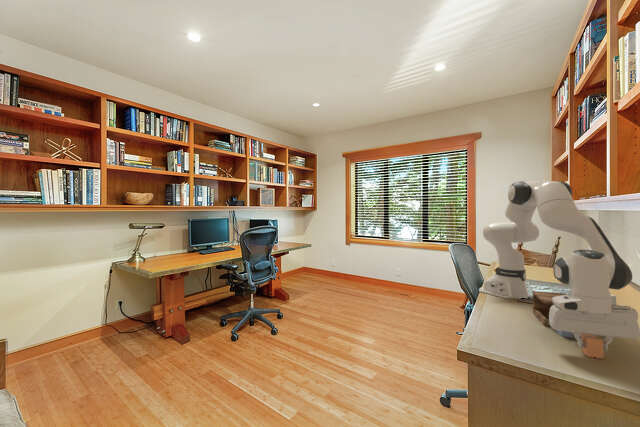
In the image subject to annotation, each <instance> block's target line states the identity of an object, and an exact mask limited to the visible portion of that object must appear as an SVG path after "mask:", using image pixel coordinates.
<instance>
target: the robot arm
mask: <svg viewBox="0 0 640 427" xmlns="http://www.w3.org/2000/svg"><path fill="white" fill-rule="evenodd" d="M572 195H573V189H572V186H570V184H569V183H567V182H564V181H559V180H558V181H557V180H556V181H553V180H534V181H533V180H532V181H531V180H530V181H529V180H528V181H520V180H519V181H516V182H513V183H512V184H511V185H510V186H509V188H508V192H507V198H508V200H509V201H508V203H507V205H506V208H505V211H504V214H505V217H506V218H507V220H509V222H507V221H505V222H503V221H502V222H492V223H487V224H486V225H485V226H484V228H483V230H482V234H483V238H484V240H486V241H487V242H488V243H490V244H491V245H492V246H493V247H494V248H495V250H496V253H497V256H498V266H497V267H496V268H495V269H494V270H493V272H495V274H493V275H491V276H490V277H488V278H485V280H484V282H483V286H481V287H479V289H478V291H479V292H480V293H483V294H486V295H487V294H488V295H490V296H494V297H499V298H501V299H502V298H503V299H507V300H509V299H518V300H520V299H521V298H525V299H529V298H530V294H529V292H528V287H527V282H526V281H527V280H526V279H527V273H526V272H527V271H526V269H525V256H524V254H523V253H522V252H521V251H520V250H518V249H516V248H513V245H512V244H513V243H516V244H517V243H518V244H519V243H522V244H523V243H530V242H534V241H536V240H537V239H538V238H539V235H540V229H539V227H538V226H537V224H536V223H533V221H532V218H533V216H534V213H535V211H536V209H537V212H538V216H539V219H540V220H541V222H542V223H543V224H544V225H545V226H547V227H549V228H551V229H553V230H556V231H559V232H560V231H561V232H566V233H569V234H573V235H575V236H578V237H580V238H581V239H584V240H585V241H586V242H587V244H588V246H589V248H590V249H577V250H573V251H571V254H570V255H569V256H562V257H559V258H558V259H556V260H555V262H554V263H553V267H552V268H553V276H554V278H555V279H556V281H558V282H560V283H562V284H564V285H567V286H571V288H570V293H566V295H561V296H556V297H553V298H552V302H553V303H554V305H552V306H551V308H550V311H549V316H548V325H549V326H550V327H551V328H552V329H553V330H555V331H556V330H557V331H566V332H572V333H573V335H574V336H575V337H576V339H577V340H576V339H575V340H576V341H577V346H578V347H579V348H582V347H586V342H585V341H584V340H582V339H580V337H579V336H581V333H583V334H588V335H596V336H602V337H603V339H602V340H603V351H609V345H610V344H611V343H612V342H613V341H614V338H619V339H627V340H639V338H640V326H639V323H638V321H639V320H638V319H639V313H638V311H637V310H636V309H635V308H633V307H631V306H629V305H619V304H618V305H617V304H616V305H612V303H611V295H612V294H611V292H610V290H619V291H620V290H621V289H624V288H625V287H627V286H628V285H629V284H630V283H631V282H632V280H633V273H632V269H631V268H630V266H629V265H628V263H626V262H625V261H624V259H623V258H621V256H620V255H619V254H618V253H617V250H616V249H615V248H614V246H613V244H612V243H611V242H610V240H609V239H608V237H607V236H606V234H605V233H604V231H603V230H602V228H601V227H600V226H599V224H598V223H597V221H595V219H594V218H592V217H590V216H588V215H586V214H584V213H583V212H582V211H581V210H580V209H579V208H578V207H577V206H576V204H575V201H574V199H573V197H572ZM528 297H529V298H528ZM521 300H522V299H521ZM557 331H556V332H557Z"/></svg>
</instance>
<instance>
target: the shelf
mask: <svg viewBox="0 0 640 427" xmlns="http://www.w3.org/2000/svg"><path fill="white" fill-rule="evenodd" d="M566 294H567V292H566V293H563V292H551V291H537V290H535V291H534V290H532V294H531V295H532V314H533V316H535V318H536V319H537V320H538V321H539V322H540V323H541V324H542V325H543V326H544V327H549V318H547V317H549V311H550V308H551V306H552V305H554V303H553V302H552V298H553V297H556V296H561V295H566Z"/></svg>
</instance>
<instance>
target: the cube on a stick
mask: <svg viewBox="0 0 640 427" xmlns="http://www.w3.org/2000/svg"><path fill="white" fill-rule="evenodd" d="M555 331H556V333H558V335H560V336H561V337H562V338H569V339H570V338H571V339H575V341H577V339H576V337H575V336H574V335H573V333H572V332H566V331H557V330H555ZM579 337H580V339H581V340H584V341H585V342H586V347H581V352H582V353H583V354H584V355H585V356H586V357H589V358H594V357H596V359H601V358H602V359H603V360H604V359H605V358H604V350H603V340H604V339H602V338H601V337H599V335H592V334H583V333H581V336H579Z"/></svg>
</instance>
